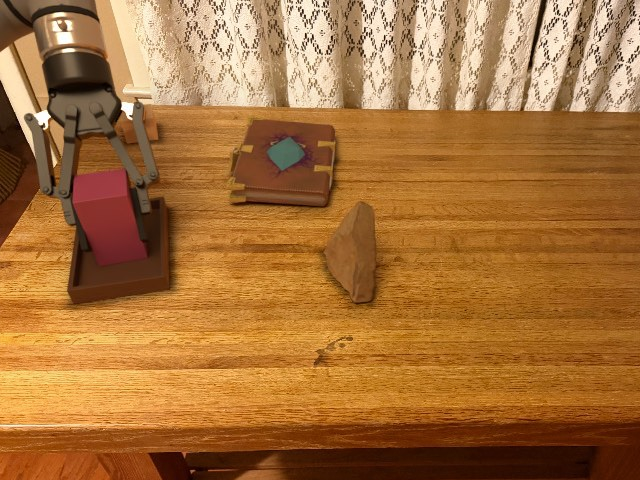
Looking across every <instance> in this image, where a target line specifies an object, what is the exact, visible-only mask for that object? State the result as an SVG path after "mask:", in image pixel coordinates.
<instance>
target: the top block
mask: <svg viewBox="0 0 640 480" xmlns="http://www.w3.org/2000/svg"><path fill="white" fill-rule="evenodd" d="M129 188H133V186H132V183H131V178H130V176H129V174H128V172H127V171H126V169H125V167H123V168H116V169H110V170H102V171H94V172H88V173H87V172H86V173H80V174H77V175H74V184H73V202H72V203H73V206H74V208H75V210H76V213H77V215H78V217H79V220H80V222H81V225H82V227H83V229H84V231H85V234H86V236H87V239H88V241H89V243H90V246H91V248H92V250H93V253H94V256H95V258H96V260H97V263H98V265H99V267H100V266H106V265H111V264H117V263H123V262H129V261H134V260H140V259H146V258H148V248H147V242H145V243H143V242H142V241H141V240H140V237H139V233H138V228H137V224H136V218H135V214H134V209H133V204H132V200H131V195H130V191H129Z"/></svg>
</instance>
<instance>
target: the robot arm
mask: <svg viewBox="0 0 640 480" xmlns="http://www.w3.org/2000/svg"><path fill="white" fill-rule="evenodd" d="M100 20H101V19H100V18H99V14H98V10H97V3H96V0H0V53H2V52H3V51H4V50H5V49H7V48H8V47H10V46H11V45H12V44H13V43H16V41H18V40H20V39H21V38H23V37H26V36H28V35H31V34H34V39H35V42H36V48H37V51H38V56H39V59H40V60H41V61H42V63H41V69H42V74H43V78H44V83H45V88H46V92H47V96H48V102H47V105H46V109H45V110H42V111H40V112H37V113H35V114H33V113H32V112H26V113H25V114H24V116H23V121H24V122H25V124H26V125H27V127H28V129H29V131H30V133H31V136H32V144H33V150H34V157H35V163H36V170H37V177H38V184H39V189H40V190H39V191H40V192H41V194H43V195H44V196H46V197H48V198H50V199H58V200H60V203H61V208H62V213H63V217H64V221H65V222H66V225H68V226H69V227H75V229H76V228H77V232H78V237H79V241H80V246H81V250H83V251H85V252H92V251H93V250H92V248H91V246H90V243H89V241H88V239H87V236H86V234H85V231H84V229H83V227H82V225H81V222H80V220H79V217H78V215H77V213H76V210H75V208H74V206H73V203H72V202H73V184H74V175H78V171H79V162H80V153H81V149H82V146H83V140H89V139H92V138H107V140H108V142H109V143H110V146H111V147H112V149H113V150H114V152H115V154H116V156H117V157H118V159H119V161H120V162H121V164H122V166H123V168H125V169H126V171H127V173H128V176H129V179H130V180H131V181H132V182H133V185H134V187H132V188H129V191H130V195H131V200H132V204H133V209H134V214H135V218H136V224H137V228H138V233H139V237H140V240H141V241H142V242H143V243H145V242H150V241H149V236H148V232H147V227H146V223H145V218H144V215H147V214H151V212H152V208H151V203H150V199H149V198H150V196H149V195H150V194H149V188H150V187H151V186H153V185H155V184H159V183H160V182H161V175H160V172H159V169H158V165H157V162H156V158H155V155H154V151H153V148H152V144H151V141H149V137H148V134H147V130H146V127H145V123H146V110H145V108H144V106H143V105H144V104H143V102H141V101H140V100H136V101H135V102H134V103H131V102H125V101H122V100H121V98H120V97H119V96H118V94H117V90H116V87H115V82H114V78H113V73H112V68H111V64H110V62H109V61H108V58H109V55H108V50H107V47H106V41H105V37H104V36H105V35H104V32H103V27H102V25H101V22H100ZM122 112H124V113H126V115H127V117H128V119H129V120H130V121H131V122H133V126H134V130H135V133H136V136H137V140H138V142H137V143H138V146H139V150H140V154H141V156H142V161H143V164H144V167H145V170H146V173H145V174H143V175H142V174H141V172H140V170H139V168H138V167H137V165H136V164H135V162H134V160H133V158H132V157H131V155H130V153H129V151H128V150H127V148H126V146H125V145H124V143H123V141H122V140H121V138H120V136H119V135H118V133H117V130H116V129H115V127H116V125H117V123H118V122H119V121H120V116H121V114H122ZM51 121H54V122H56V123H57V124H58V125H59V126H60V127H61V128H62V129H63V138H62V139H63V145H62V146H63V148H62V156H61V162H60V163H61V164H60V165H61V166H60V172H59V180H58V186H57V181H56V173H55V167H54V160H53V153H52V147H51V141H50V137H49V134H48V132H49V131H50V130H51Z"/></svg>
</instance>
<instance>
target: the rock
mask: <svg viewBox="0 0 640 480" xmlns="http://www.w3.org/2000/svg"><path fill="white" fill-rule="evenodd" d="M323 255H325V259H326V265H327V270H328V271H329V272H330V273H331V275H332V277H333V278H334V279H335V280H336V281H337V282H338V283H340V285H341V287H342V288H343V289H344V290H346V291H347V292H348V293H349V296H350V300H352V302H353V303H355V304H359V303H369V302H371V301H372V300H373V297H374V291H375V289H376V272H377V238H376V221H375V210H374V207H373V206H372V205H370V204H369V203H367V202H364V201H363V200H359V201H357V202H356V204H355V205H354V206H353V207H352V208H350V210H349V211H348V212H347V213H346V214H345V216H344V217H343V219H342V220H341V221H340V223H339V225H338V227H337V228H336V229H335V230H334V231H333V232H332V234H331V235H330V237H329V239H328V241H327V243H326V247H325V249H324V251H323Z"/></svg>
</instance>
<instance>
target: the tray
mask: <svg viewBox="0 0 640 480" xmlns="http://www.w3.org/2000/svg"><path fill="white" fill-rule="evenodd" d="M149 199H150V203H151V208H152V212H151V214H147V215H144V218H145V223H146V227H147V232H148V236H149V241H150V242H147V248H148V258H146V259H140V260H134V261H129V262H123V263H117V264H111V265H106V266H100V267H99V265H98V263H97V260H96V258H95V256H94V253H93V251H92V252H85V251H83V250H81V246H80V241H79V237H78V232H77V228H76V227H75V233H74V238H73V239H74V240H73V246H72V254H71V261H70V268H69V274H68V281H67V282H68V283H67V288H66V292H67V294H68V296H69V298H70V300H71V302H72V304H73V305H76V304H82V303H84V304H85V303H89V302H97V301H103V300H104V301H105V300H110V299H116V298H122V297H129V296H135V295H143V294H148V293H155V292H161V291H168V290H171V286H170V285H171V284H170V251H169V217H168V216H169V214H168V207H167V203H166V199H165V197H164V196H159V197H151V198H150V197H149Z"/></svg>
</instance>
